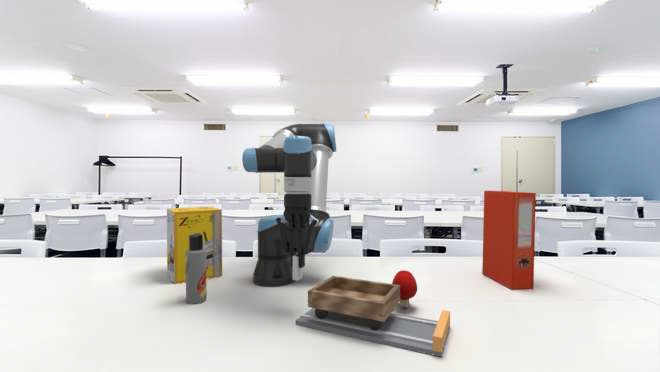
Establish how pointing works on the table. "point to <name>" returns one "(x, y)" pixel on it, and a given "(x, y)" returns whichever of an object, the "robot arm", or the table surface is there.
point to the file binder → (509, 238)
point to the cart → (355, 299)
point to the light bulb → (405, 286)
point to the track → (386, 329)
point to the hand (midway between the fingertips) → (297, 278)
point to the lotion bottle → (196, 270)
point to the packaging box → (178, 232)
